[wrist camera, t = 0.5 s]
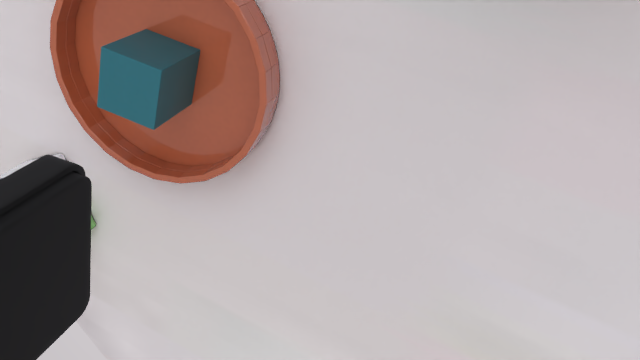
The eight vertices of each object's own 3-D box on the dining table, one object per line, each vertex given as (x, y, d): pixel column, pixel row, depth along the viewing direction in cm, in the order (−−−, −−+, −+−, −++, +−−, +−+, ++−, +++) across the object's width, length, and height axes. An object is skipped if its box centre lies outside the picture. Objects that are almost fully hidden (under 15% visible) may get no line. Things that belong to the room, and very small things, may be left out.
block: (146, 28, 46) (100, 46, 41) (200, 49, 46) (161, 70, 41) (140, 83, 49) (96, 106, 44) (191, 104, 48) (153, 130, 43)
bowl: (79, -92, 44) (52, -91, 41) (306, -10, 42) (292, -3, 39) (70, 122, 54) (48, 134, 51) (253, 199, 52) (239, 215, 49)
